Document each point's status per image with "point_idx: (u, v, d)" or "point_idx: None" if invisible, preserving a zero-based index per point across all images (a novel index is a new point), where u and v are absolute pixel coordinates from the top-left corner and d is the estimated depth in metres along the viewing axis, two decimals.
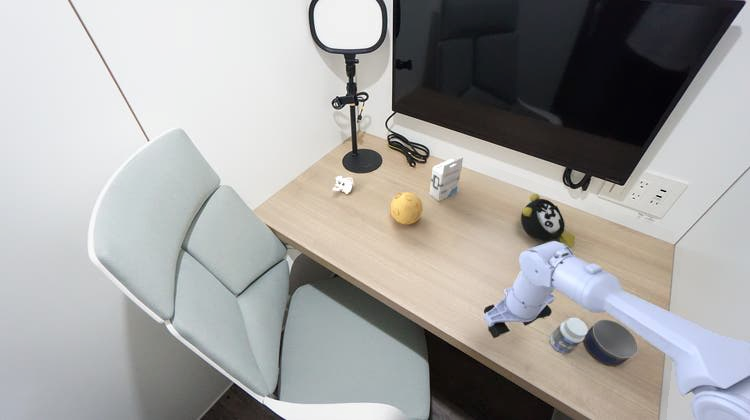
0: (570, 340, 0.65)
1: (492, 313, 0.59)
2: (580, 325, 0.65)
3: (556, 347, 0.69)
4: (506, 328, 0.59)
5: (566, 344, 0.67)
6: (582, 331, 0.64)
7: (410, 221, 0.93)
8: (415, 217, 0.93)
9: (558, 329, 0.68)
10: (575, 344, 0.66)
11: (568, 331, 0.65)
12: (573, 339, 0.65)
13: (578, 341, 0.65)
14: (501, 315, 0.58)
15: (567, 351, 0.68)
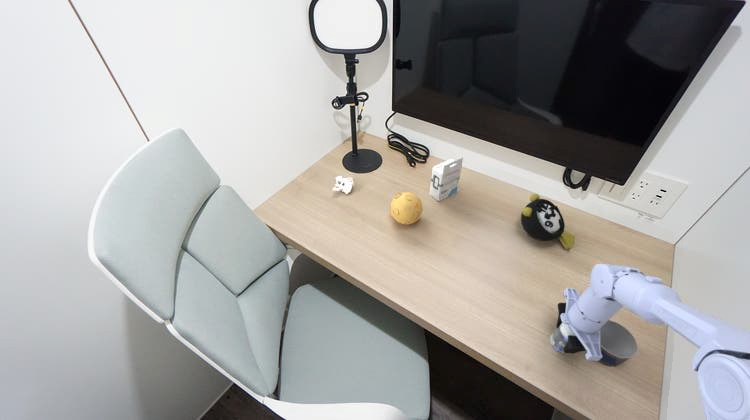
0: None
1: (589, 349, 0.59)
2: None
3: (556, 347, 0.69)
4: None
5: None
6: None
7: (410, 221, 0.93)
8: (415, 217, 0.93)
9: (558, 329, 0.68)
10: None
11: (568, 331, 0.65)
12: None
13: None
14: (593, 343, 0.60)
15: None
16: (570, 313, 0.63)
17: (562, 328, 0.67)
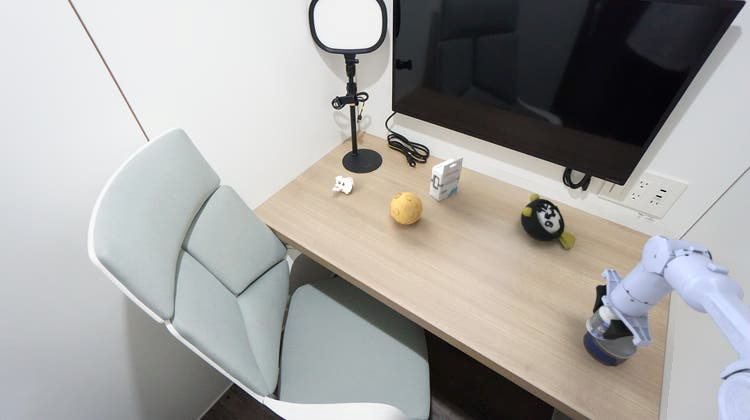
0: None
1: (638, 334, 0.54)
2: None
3: (594, 333, 0.64)
4: None
5: None
6: None
7: (410, 221, 0.93)
8: (415, 217, 0.93)
9: (597, 314, 0.62)
10: None
11: (610, 315, 0.59)
12: None
13: None
14: (642, 327, 0.54)
15: None
16: (613, 295, 0.57)
17: (602, 312, 0.61)
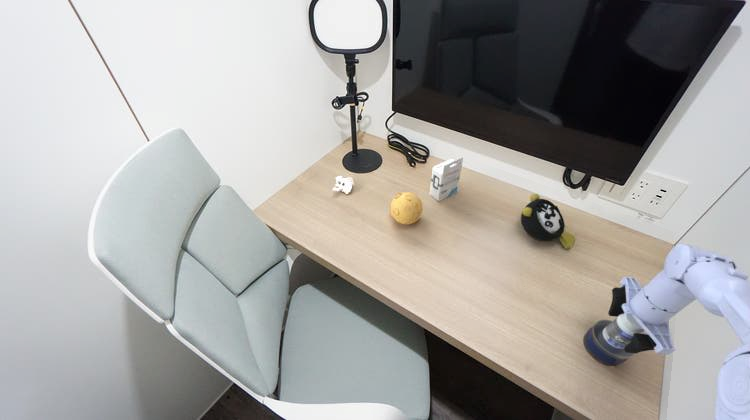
0: (629, 335, 0.61)
1: (659, 342, 0.54)
2: None
3: (611, 342, 0.65)
4: None
5: (623, 339, 0.62)
6: None
7: (410, 221, 0.93)
8: (415, 217, 0.93)
9: (614, 323, 0.63)
10: None
11: (628, 325, 0.60)
12: (633, 334, 0.60)
13: None
14: (663, 335, 0.55)
15: (623, 346, 0.64)
16: (634, 303, 0.58)
17: (619, 321, 0.62)
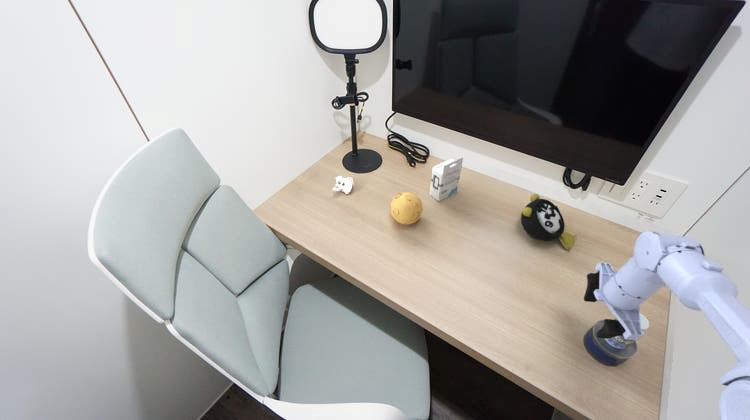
0: None
1: (628, 328, 0.54)
2: (640, 318, 0.61)
3: (611, 342, 0.65)
4: None
5: (623, 339, 0.62)
6: (643, 324, 0.60)
7: (410, 221, 0.93)
8: (415, 217, 0.93)
9: None
10: None
11: None
12: None
13: None
14: (632, 321, 0.54)
15: (623, 346, 0.64)
16: (605, 289, 0.57)
17: None
